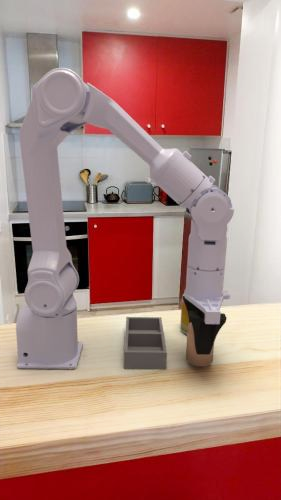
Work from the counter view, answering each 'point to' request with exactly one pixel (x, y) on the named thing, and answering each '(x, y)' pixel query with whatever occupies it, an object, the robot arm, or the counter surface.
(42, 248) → the robot arm
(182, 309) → the supplement bottle
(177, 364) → the counter surface
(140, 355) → the carrier
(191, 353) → the tan capsule
